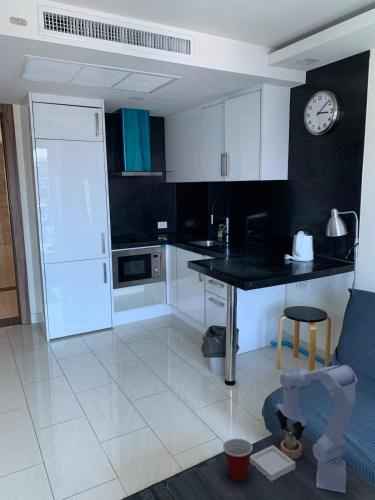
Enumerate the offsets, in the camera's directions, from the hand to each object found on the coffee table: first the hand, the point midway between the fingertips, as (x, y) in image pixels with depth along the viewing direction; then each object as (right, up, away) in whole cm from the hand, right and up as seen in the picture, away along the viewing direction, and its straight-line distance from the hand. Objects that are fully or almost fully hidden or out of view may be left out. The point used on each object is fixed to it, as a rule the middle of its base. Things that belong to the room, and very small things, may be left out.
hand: (291, 433), depth 149 cm
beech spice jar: (0, -8, +1) cm, 8 cm away
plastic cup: (-22, -10, -11) cm, 27 cm away
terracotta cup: (0, -8, +1) cm, 8 cm away
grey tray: (-9, -9, -6) cm, 14 cm away
